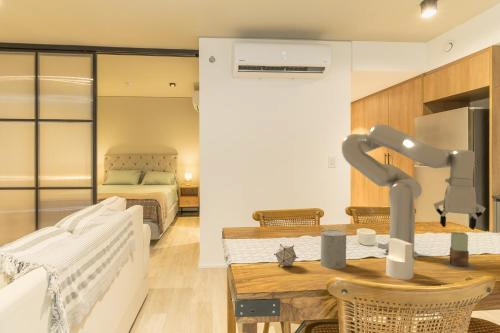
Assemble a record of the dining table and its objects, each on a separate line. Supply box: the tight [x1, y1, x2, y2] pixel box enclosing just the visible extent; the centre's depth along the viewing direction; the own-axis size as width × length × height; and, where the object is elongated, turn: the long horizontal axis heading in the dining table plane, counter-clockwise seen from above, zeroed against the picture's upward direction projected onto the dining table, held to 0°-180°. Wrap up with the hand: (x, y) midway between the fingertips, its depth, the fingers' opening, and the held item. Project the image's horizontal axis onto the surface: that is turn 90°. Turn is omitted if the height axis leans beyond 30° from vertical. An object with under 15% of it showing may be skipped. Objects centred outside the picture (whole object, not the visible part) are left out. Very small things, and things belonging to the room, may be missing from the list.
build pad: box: [442, 260, 477, 271], centre depth 136 cm, size 9×9×1 cm
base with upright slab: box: [385, 237, 415, 281], centre depth 125 cm, size 9×9×12 cm
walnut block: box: [449, 246, 470, 267], centre depth 136 cm, size 5×5×6 cm
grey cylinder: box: [320, 229, 348, 270], centre depth 136 cm, size 10×10×12 cm
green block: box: [450, 231, 469, 251], centre depth 135 cm, size 4×4×6 cm
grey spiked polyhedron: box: [273, 243, 299, 269], centre depth 134 cm, size 9×8×10 cm
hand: (457, 227), depth 136 cm, fingers open, 9 cm apart
